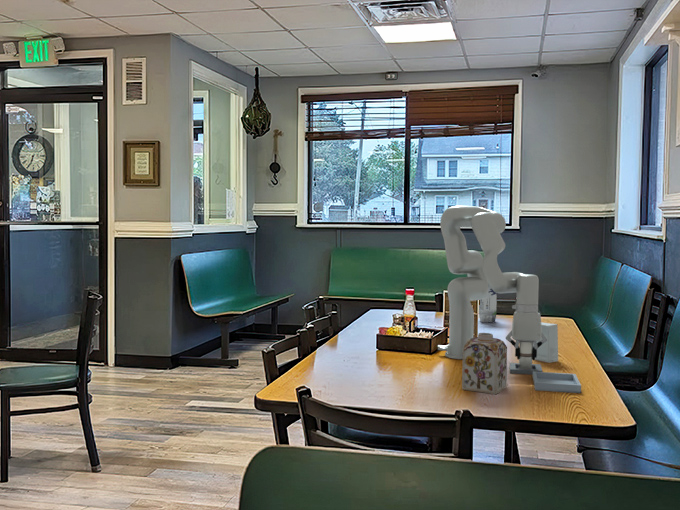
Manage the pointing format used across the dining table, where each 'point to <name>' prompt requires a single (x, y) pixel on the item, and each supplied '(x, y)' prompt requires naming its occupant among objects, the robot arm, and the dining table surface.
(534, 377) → the tray
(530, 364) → the cylinder
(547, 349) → the skincare box
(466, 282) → the robot arm
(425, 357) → the dining table surface
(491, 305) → the juice carton
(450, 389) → the dining table surface
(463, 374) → the decorative jar
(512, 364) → the socket
